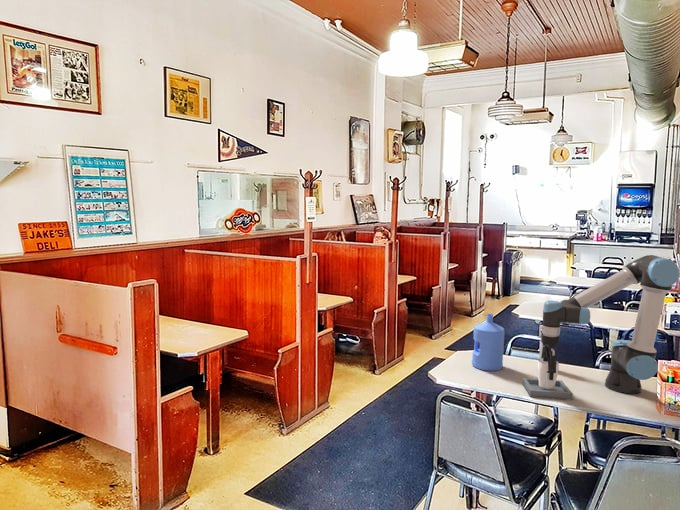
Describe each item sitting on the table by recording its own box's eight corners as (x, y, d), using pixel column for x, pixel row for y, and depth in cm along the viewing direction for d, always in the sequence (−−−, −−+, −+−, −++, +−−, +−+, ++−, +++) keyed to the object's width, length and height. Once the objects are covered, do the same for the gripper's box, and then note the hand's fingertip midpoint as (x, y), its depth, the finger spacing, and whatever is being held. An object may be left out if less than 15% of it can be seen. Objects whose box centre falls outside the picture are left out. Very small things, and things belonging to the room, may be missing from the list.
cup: (553, 383, 236) (555, 358, 235) (560, 390, 228) (561, 365, 226) (533, 382, 237) (535, 357, 236) (539, 389, 228) (541, 364, 227)
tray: (561, 386, 239) (561, 380, 239) (572, 399, 224) (572, 393, 223) (522, 383, 242) (522, 377, 241) (530, 396, 226) (530, 390, 226)
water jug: (505, 365, 269) (509, 313, 265) (497, 373, 255) (501, 319, 252) (476, 359, 277) (479, 309, 274) (467, 367, 264) (470, 315, 260)
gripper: (535, 328, 241) (532, 373, 243) (548, 340, 219) (544, 390, 222) (552, 329, 240) (549, 374, 242) (566, 342, 218) (562, 392, 221)
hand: (546, 382), depth 232 cm, fingers closed on cup, 9 cm apart
